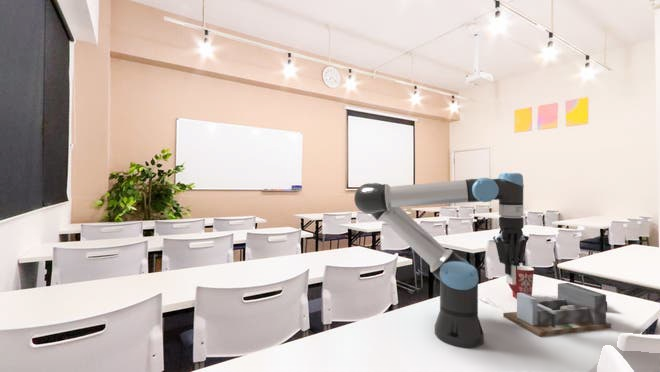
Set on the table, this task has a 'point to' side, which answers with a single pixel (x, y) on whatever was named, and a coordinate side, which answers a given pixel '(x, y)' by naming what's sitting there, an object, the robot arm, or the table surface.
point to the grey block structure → (568, 312)
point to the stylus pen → (489, 302)
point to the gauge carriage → (531, 309)
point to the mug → (523, 281)
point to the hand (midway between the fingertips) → (511, 283)
